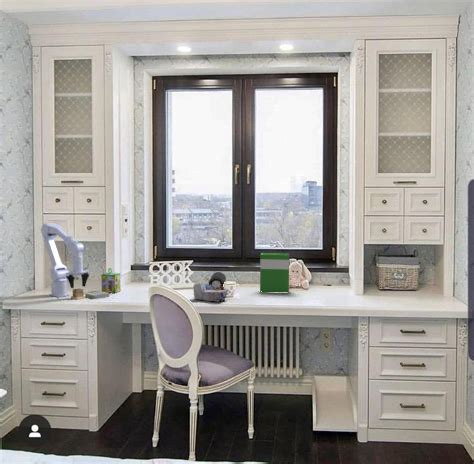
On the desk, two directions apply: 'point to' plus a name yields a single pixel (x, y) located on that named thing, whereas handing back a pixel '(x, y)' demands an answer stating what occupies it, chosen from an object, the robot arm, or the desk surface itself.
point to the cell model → (209, 292)
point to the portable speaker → (217, 280)
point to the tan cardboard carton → (78, 294)
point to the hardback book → (274, 272)
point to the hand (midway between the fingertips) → (78, 287)
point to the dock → (97, 295)
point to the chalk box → (110, 282)
